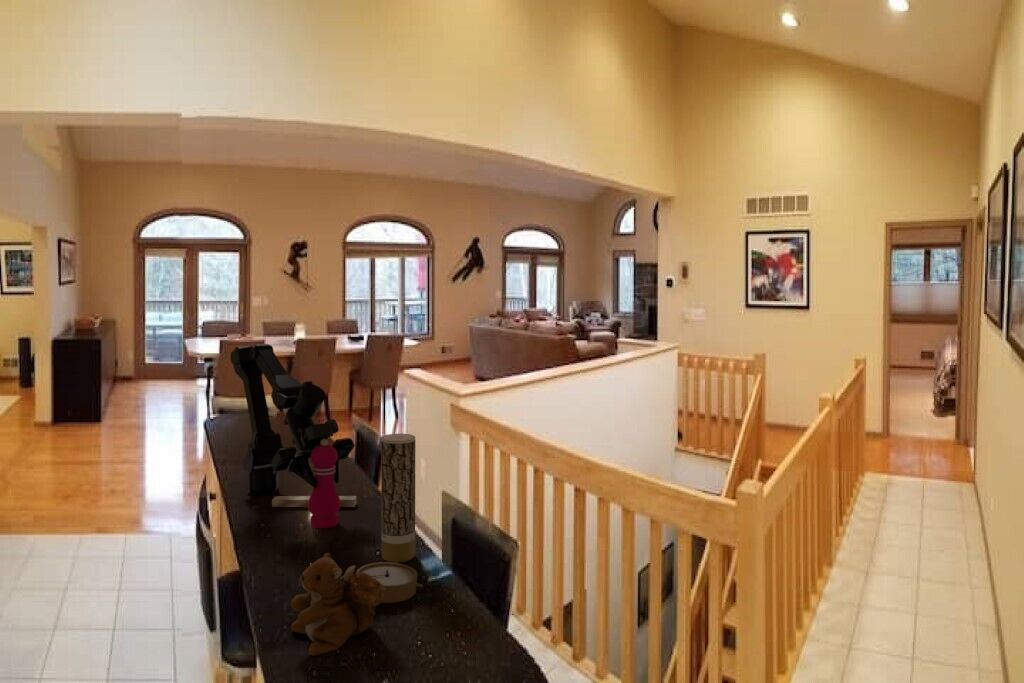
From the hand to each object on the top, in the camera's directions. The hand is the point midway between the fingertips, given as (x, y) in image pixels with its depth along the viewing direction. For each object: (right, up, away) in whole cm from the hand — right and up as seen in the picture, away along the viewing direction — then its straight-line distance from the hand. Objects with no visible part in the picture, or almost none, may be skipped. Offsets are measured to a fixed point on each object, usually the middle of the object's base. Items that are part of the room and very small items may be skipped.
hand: (327, 484), depth 163 cm
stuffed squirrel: (+14, -15, -48) cm, 53 cm away
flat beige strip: (-7, -8, +14) cm, 18 cm away
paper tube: (+19, -12, -17) cm, 28 cm away
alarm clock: (+18, -13, -33) cm, 40 cm away
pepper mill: (-1, -10, +2) cm, 10 cm away
